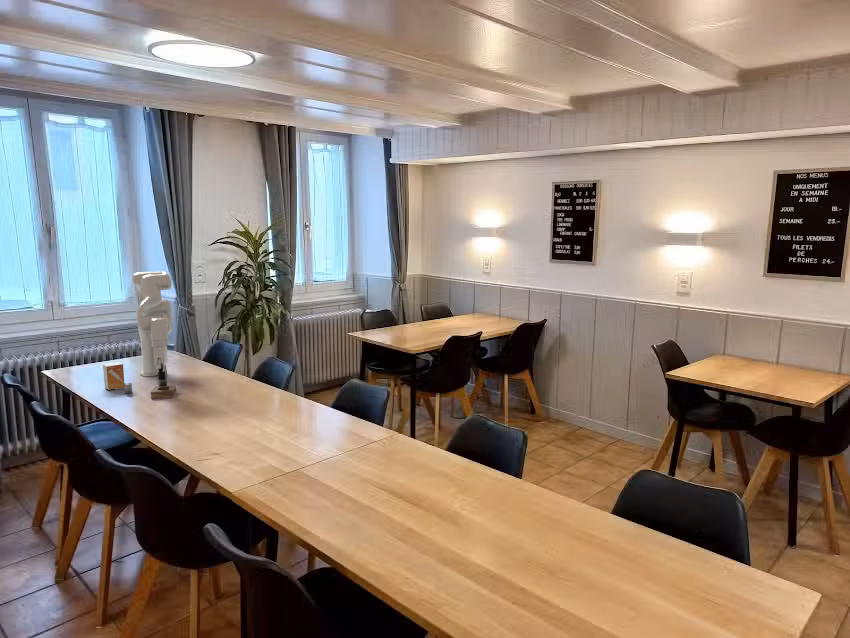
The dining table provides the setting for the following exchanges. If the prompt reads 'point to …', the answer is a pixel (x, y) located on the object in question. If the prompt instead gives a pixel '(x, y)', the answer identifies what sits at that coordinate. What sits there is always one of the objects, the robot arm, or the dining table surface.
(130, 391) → the short pin
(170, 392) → the socket block
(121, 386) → the small box
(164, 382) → the long pin
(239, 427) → the dining table surface
